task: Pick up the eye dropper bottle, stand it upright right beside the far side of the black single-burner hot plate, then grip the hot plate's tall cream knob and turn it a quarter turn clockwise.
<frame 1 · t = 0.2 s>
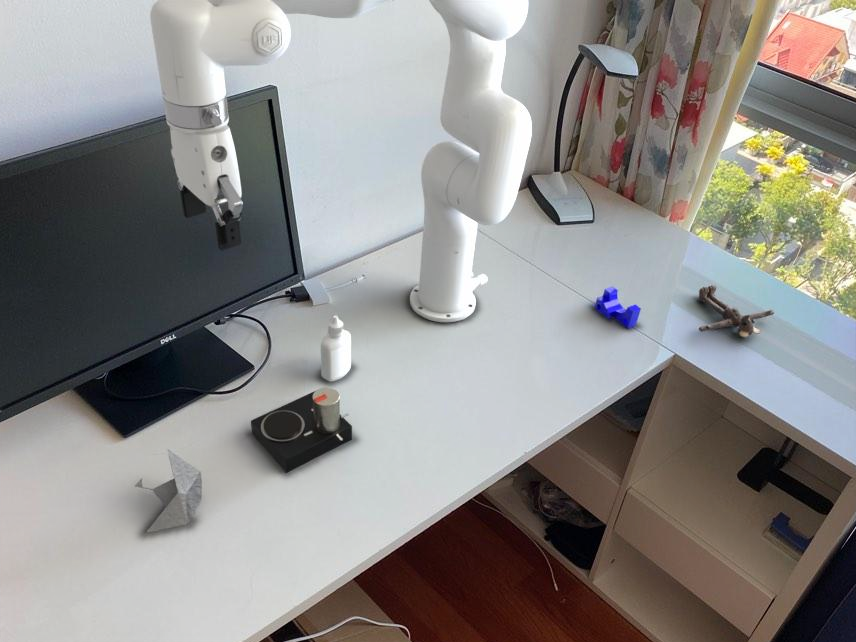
hand: (212, 230, 111), 31 cm above the table, tool pointing down, fingers open, 9 cm apart
burner: (283, 440, 125), resting on hot plate
hot plate: (302, 436, 126), on the table
knob: (326, 409, 122), point 6 cm above the table, hinge at 0.0°
cable holder: (614, 317, 155), on the table
origami crane: (173, 504, 115), on the table
brown monkey figure: (725, 319, 157), on the table
eye dropper bottle: (336, 373, 138), on the table
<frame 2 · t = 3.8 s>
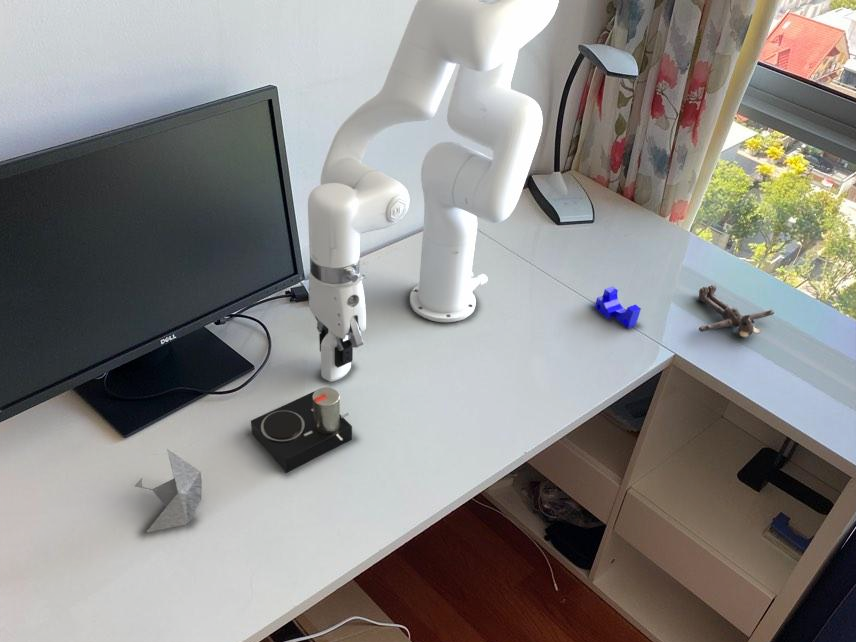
hand: (336, 355, 135), 4 cm above the table, tool pointing down, fingers closed on eye dropper bottle, 3 cm apart
eye dropper bottle: (336, 373, 138), on the table, touching gripper
everything else where it was.
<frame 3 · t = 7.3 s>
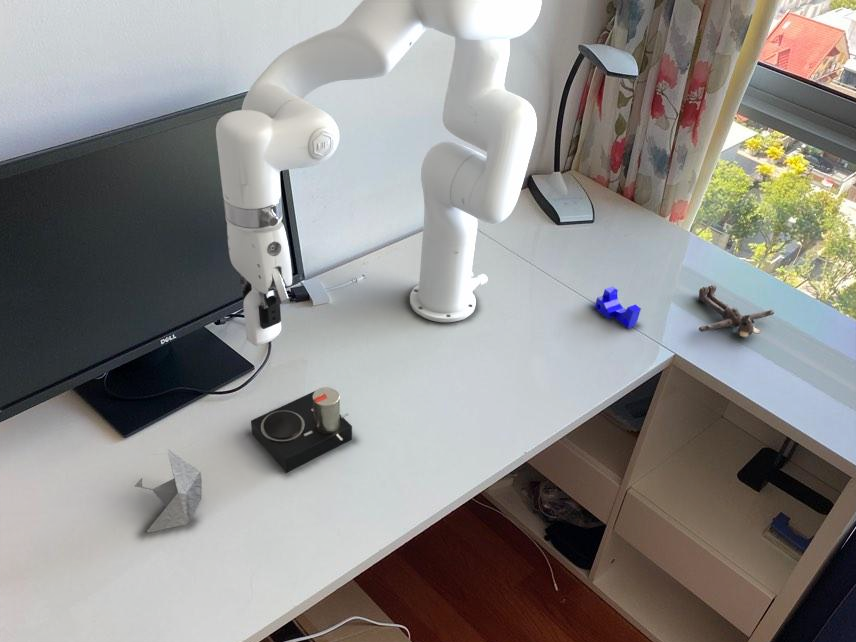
hand: (262, 316, 120), 17 cm above the table, tool pointing down, fingers closed on eye dropper bottle, 3 cm apart
eye dropper bottle: (264, 337, 123), point 13 cm above the table, touching gripper
everything else where it was.
when the fingers open (4 cm above the table, at t = 10.6 s): eye dropper bottle stays where it is, on the table.
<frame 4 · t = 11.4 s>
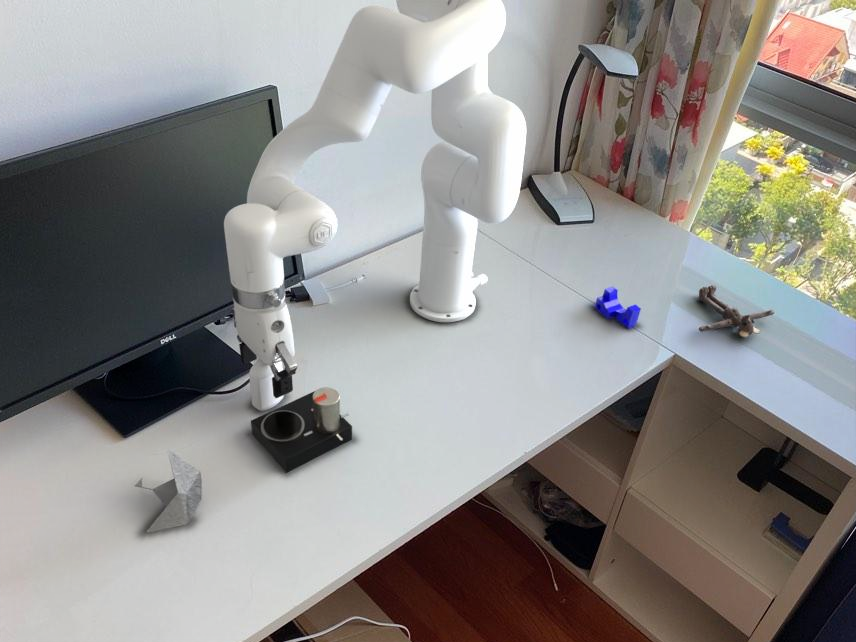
hand: (266, 376, 128), 5 cm above the table, tool pointing down, fingers open, 9 cm apart
eye dropper bottle: (268, 401, 132), on the table
everything else where it was.
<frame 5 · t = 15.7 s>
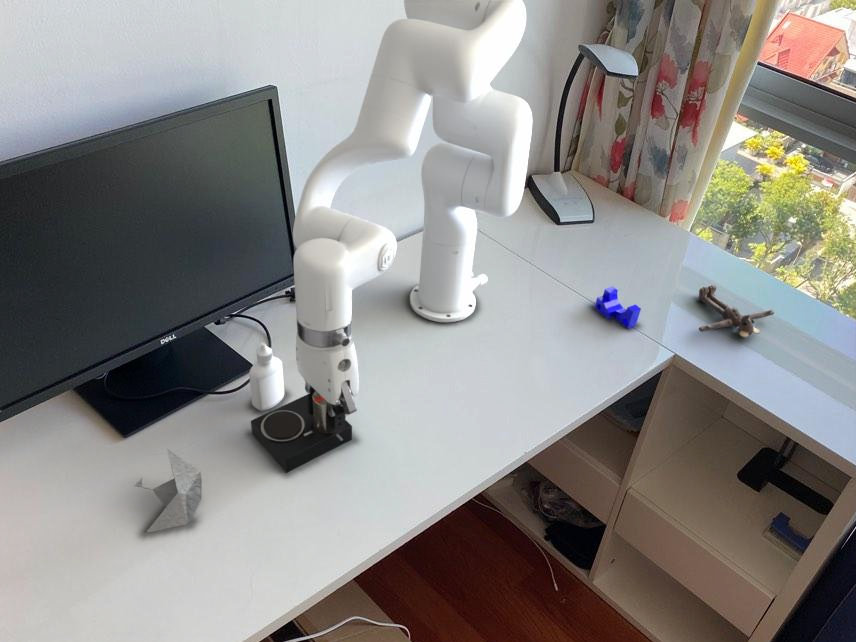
hand: (326, 418, 123), 4 cm above the table, tool pointing down, fingers closed on knob, 4 cm apart
knob: (326, 409, 122), point 6 cm above the table, hinge at 0.0°, touching gripper
everything else where it was.
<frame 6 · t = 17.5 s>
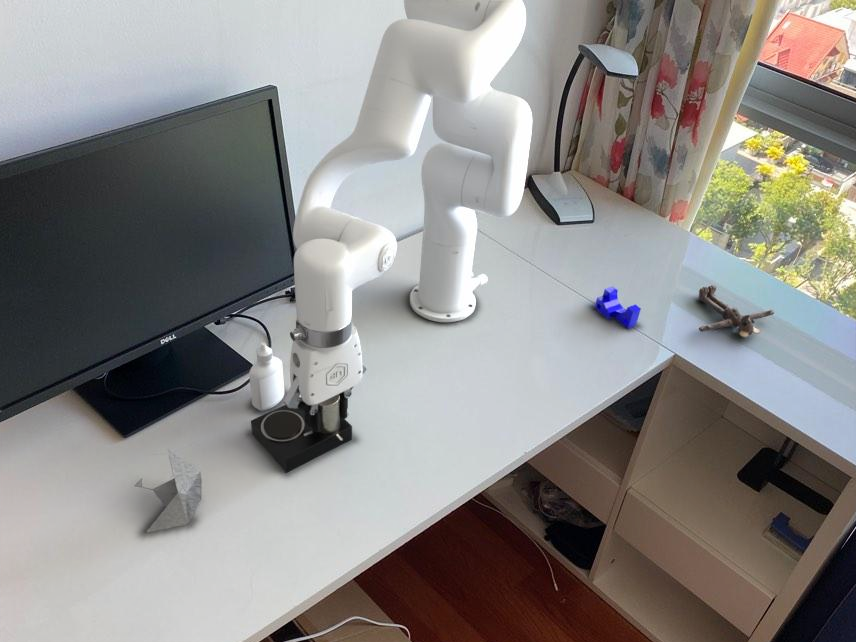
hand: (326, 419, 123), 4 cm above the table, tool pointing down, fingers open, 4 cm apart
knob: (326, 409, 122), point 6 cm above the table, hinge at -90.2°
everything else where it was.
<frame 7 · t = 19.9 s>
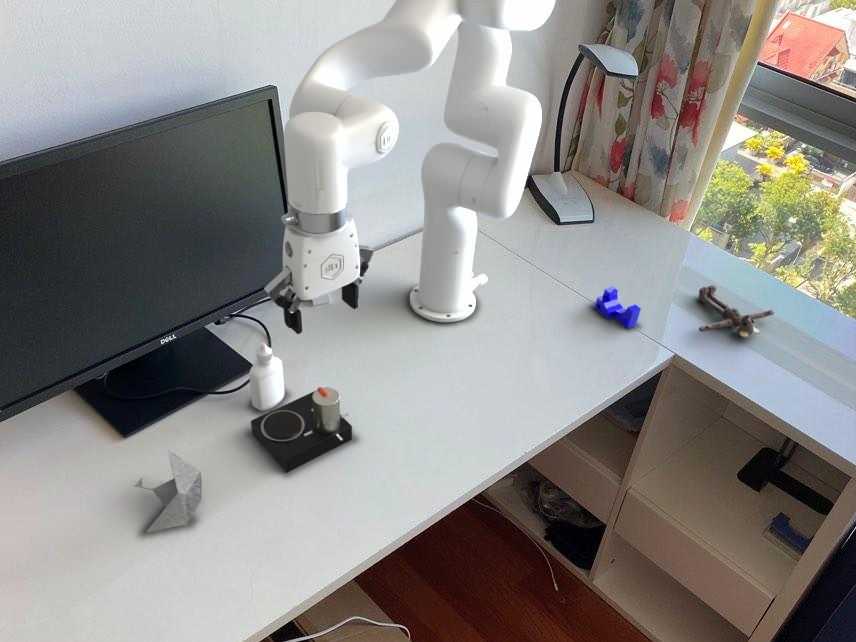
hand: (322, 316, 116), 20 cm above the table, tool pointing down, fingers open, 9 cm apart
knob: (326, 409, 122), point 6 cm above the table, hinge at -90.7°
everything else where it was.
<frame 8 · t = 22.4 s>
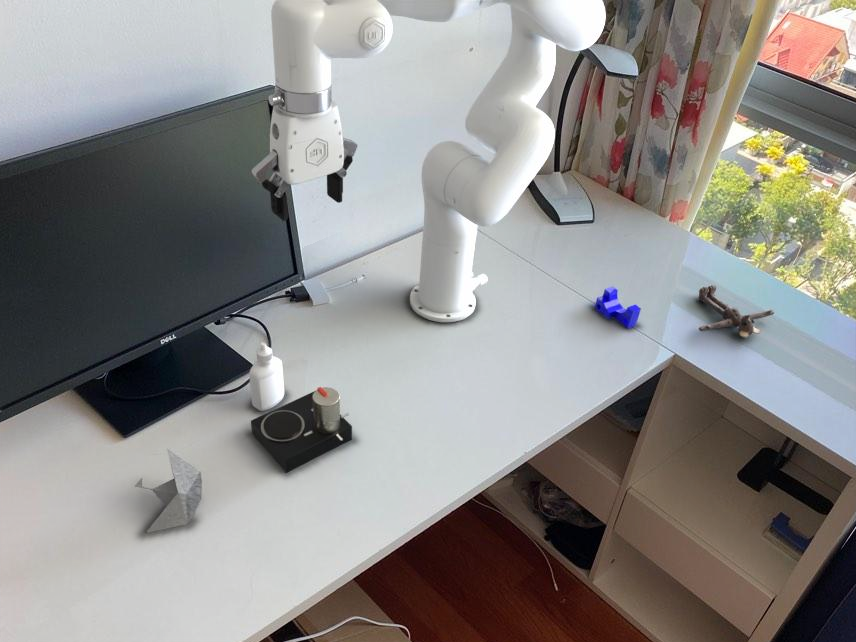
hand: (308, 207, 122), 28 cm above the table, tool pointing down, fingers open, 9 cm apart
nothing on the table moved.
at the end: eye dropper bottle inside the target area on the table beside the hot plate (0.5 cm from its centre), on the table; eye dropper bottle tilted 0°; knob at -91° (first picture: +0°) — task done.
